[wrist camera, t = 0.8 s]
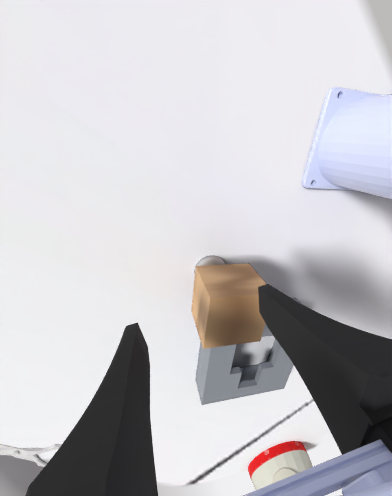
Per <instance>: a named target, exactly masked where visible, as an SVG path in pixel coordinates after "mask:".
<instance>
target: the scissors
mask: <svg viewBox="0 0 392 496" xmlns="http://www.w3.org/2000/svg"><path fill="white" fill-rule="evenodd" d="M60 447H61V445H60V444H55V445H52V446H50V447H46V448H15V447H11V446H6V445H2V444H0V455H12V456H14V457H17V458H22V459H27V460H30V461H34V462H36V463H37V465H38V466H44V467H45V466H46V465H47V463H48V462H49V461H50V460H42V459H39V458H38V457H37V455H36V454H39V453H43V452H47V451H50V450H55V449H59V448H60Z"/></svg>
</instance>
